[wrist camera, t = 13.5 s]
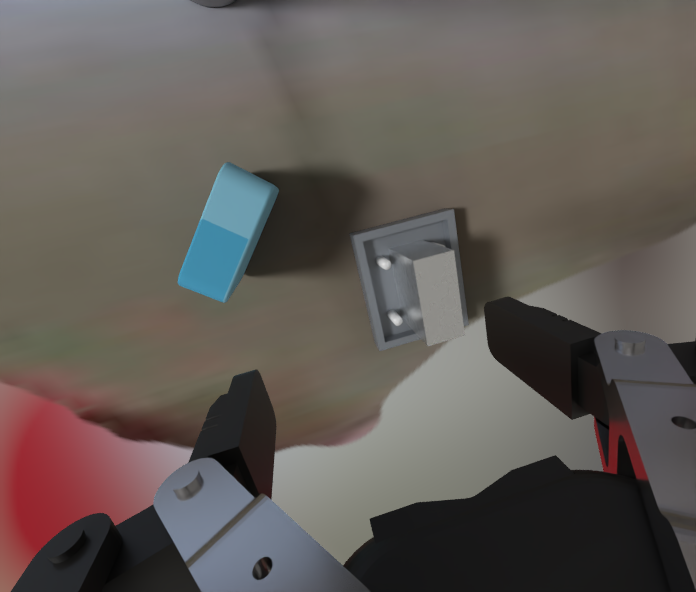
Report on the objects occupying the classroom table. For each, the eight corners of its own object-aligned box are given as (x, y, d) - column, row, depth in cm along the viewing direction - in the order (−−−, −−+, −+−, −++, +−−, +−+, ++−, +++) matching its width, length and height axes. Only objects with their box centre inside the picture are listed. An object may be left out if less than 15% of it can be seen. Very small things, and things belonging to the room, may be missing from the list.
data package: (243, 170, 38) (223, 158, 27) (280, 189, 39) (275, 185, 28) (206, 263, 40) (172, 288, 29) (242, 278, 41) (223, 308, 30)
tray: (349, 233, 42) (355, 236, 38) (444, 208, 43) (459, 209, 39) (374, 342, 47) (382, 356, 43) (459, 318, 48) (474, 328, 44)
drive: (388, 248, 42) (413, 261, 34) (421, 239, 42) (454, 250, 34) (402, 318, 45) (427, 346, 37) (432, 309, 46) (464, 335, 37)
